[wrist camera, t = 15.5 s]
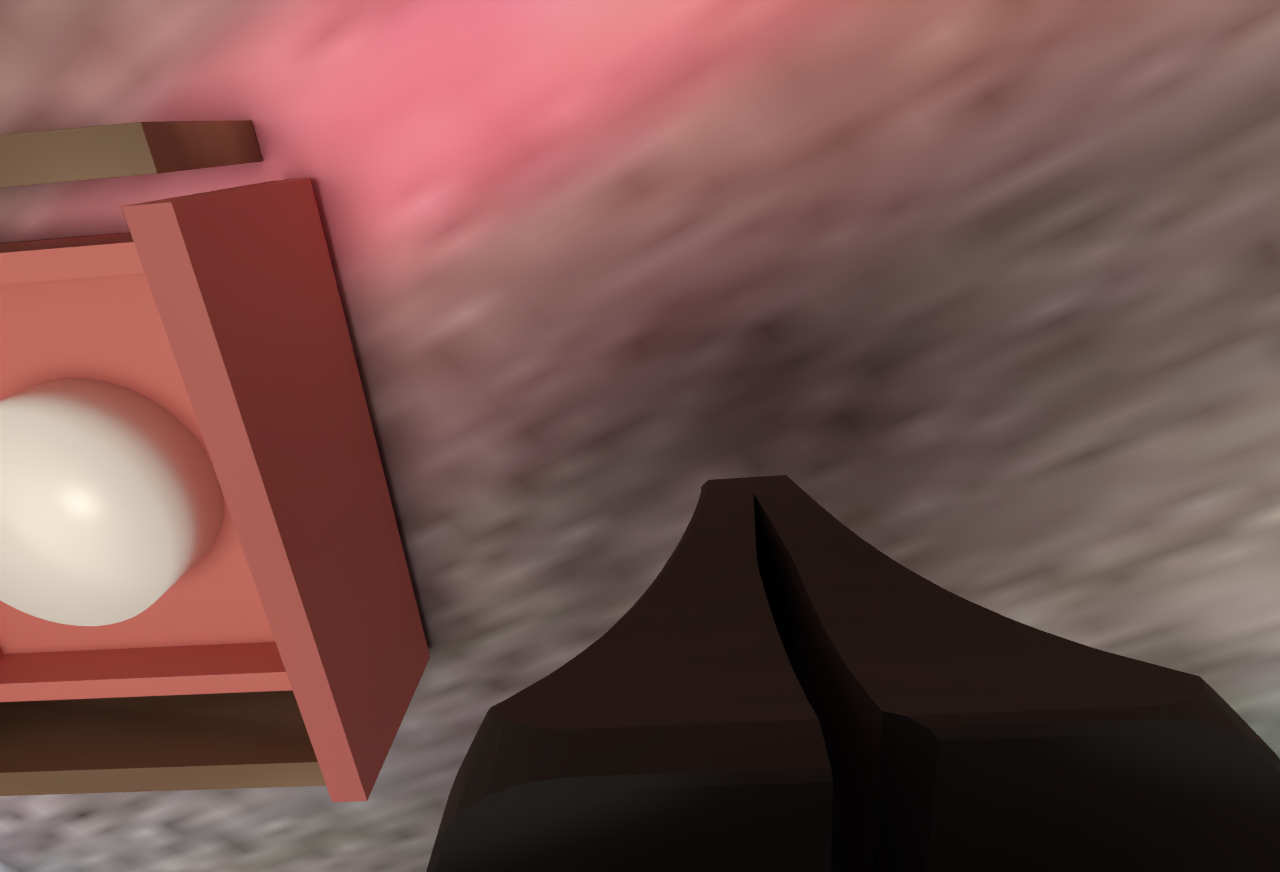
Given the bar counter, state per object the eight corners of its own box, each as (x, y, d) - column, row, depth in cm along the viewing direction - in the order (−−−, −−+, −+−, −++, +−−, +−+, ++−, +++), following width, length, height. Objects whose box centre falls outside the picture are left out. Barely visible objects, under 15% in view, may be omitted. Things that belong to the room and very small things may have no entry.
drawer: (429, 657, 20) (367, 801, 16) (28, 674, 21) (-133, 815, 17) (309, 177, 15) (171, 201, 11) (-213, 223, 16) (-534, 262, 12)
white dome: (52, 581, 19) (-14, 631, 17) (-44, 386, 17) (-131, 418, 15) (251, 570, 19) (205, 620, 17) (180, 369, 16) (118, 401, 15)
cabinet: (404, 683, 21) (358, 784, 18) (7, 700, 22) (-106, 799, 19) (251, 120, 15) (140, 122, 12) (-291, 170, 16) (-529, 184, 13)
